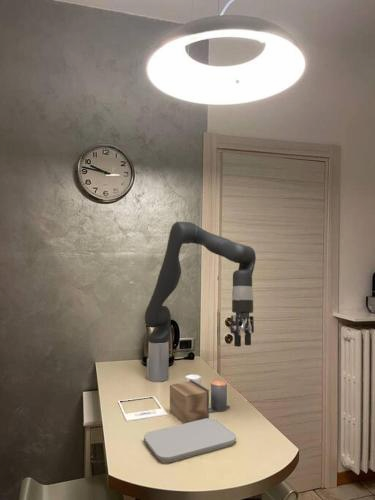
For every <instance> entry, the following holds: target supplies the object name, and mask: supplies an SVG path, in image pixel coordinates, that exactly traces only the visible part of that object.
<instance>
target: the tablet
mask: <svg viewBox="0 0 375 500" xmlns="http://www.w3.org/2000/svg"><path fill="white" fill-rule="evenodd" d="M143 440H144V442H145V444H146V445H147V447H148V448H149V449H150V450H151V452H152V453H153V454H154V456H155V457H156V458H157V460H158V461H160V462H161V463H164V464H165V463H166V464H168V463H172V462H177V461H180V460H183V459H187V458H191V457H195V456H199V455H202V454H204V453H209V452H212V451H216V450H220V449H223V448H227V447H230V446H232V445H233V444H234V443H235V441H237V435H236V434H235V432H233V431H232V430H231V429H230V428H228V427H227V426H226V425H224V424H223V423H222V422H220V421H219V420H218V419H215V418H212V417H209V418H206V419H202V420H197V421H193V422H189V423H184V424H183V423H180V424H176V425H172V426H168V427H163V428H159V429H154V430H151V431H147V432H145V433H144V435H143Z"/></svg>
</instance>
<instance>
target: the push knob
mask: <svg viewBox="0 0 375 500" xmlns="http://www.w3.org/2000/svg"><path fill="white" fill-rule="evenodd" d="M227 405H228V382H227V380H225V379H223V378H222V379H220V378H217V379H216V378H215V379H212V380H211V381H210V408H212V409H215V410H221V411H223V410H224V409H225V410H227V409H226V408H227Z"/></svg>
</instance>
